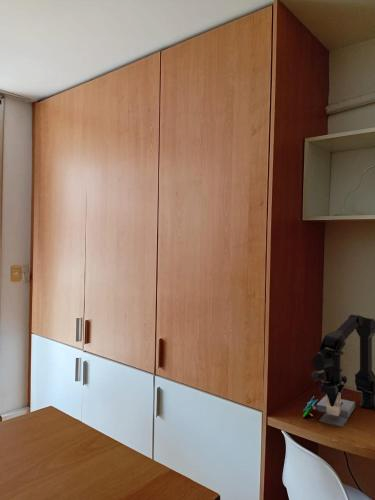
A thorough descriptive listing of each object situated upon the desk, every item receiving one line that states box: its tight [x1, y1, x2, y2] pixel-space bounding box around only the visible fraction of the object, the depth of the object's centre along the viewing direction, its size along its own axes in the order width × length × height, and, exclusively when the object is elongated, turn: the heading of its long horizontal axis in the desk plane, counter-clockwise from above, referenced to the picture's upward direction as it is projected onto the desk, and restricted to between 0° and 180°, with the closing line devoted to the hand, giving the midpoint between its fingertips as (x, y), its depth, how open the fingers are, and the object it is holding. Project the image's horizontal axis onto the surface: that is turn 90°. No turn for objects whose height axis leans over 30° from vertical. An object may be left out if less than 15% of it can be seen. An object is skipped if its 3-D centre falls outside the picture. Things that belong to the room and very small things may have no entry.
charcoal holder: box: [316, 395, 356, 419], centre depth 168 cm, size 13×13×2 cm
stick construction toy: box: [302, 395, 323, 418], centre depth 162 cm, size 12×7×8 cm
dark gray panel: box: [318, 412, 349, 428], centre depth 156 cm, size 9×9×1 cm
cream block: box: [325, 392, 342, 416], centre depth 156 cm, size 4×4×8 cm
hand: (333, 404), depth 156 cm, fingers closed on cream block, 4 cm apart
